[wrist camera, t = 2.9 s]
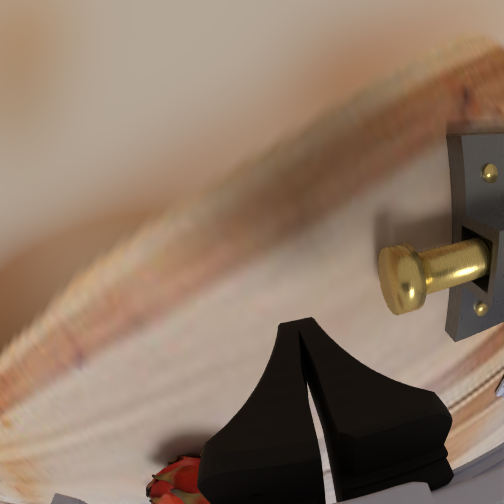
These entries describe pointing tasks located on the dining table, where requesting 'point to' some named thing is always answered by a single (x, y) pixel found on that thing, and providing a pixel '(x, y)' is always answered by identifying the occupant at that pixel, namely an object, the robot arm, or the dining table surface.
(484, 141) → the hinge leaves
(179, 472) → the dragon fruit
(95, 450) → the dining table surface
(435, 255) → the pin
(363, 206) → the dining table surface
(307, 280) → the dining table surface
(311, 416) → the robot arm
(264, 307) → the dining table surface
